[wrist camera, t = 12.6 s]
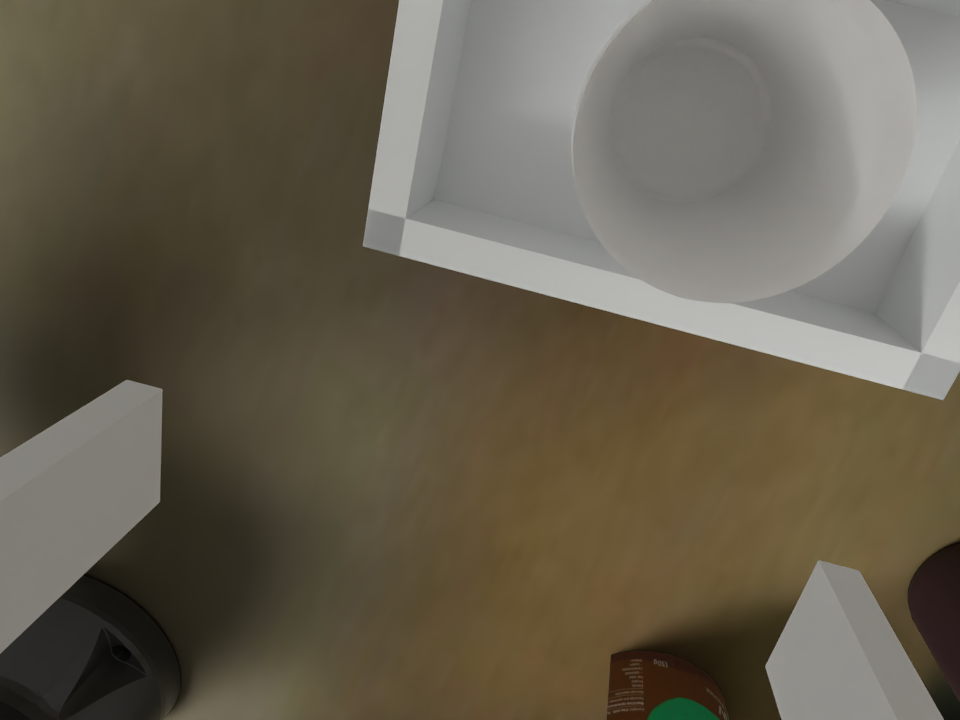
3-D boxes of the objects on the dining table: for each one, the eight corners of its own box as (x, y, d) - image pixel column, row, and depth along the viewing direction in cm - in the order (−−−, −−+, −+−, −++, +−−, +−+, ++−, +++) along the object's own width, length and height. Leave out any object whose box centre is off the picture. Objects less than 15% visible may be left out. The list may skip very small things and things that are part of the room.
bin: (402, 220, 34) (362, 246, 28) (463, -136, 28) (427, -191, 22) (886, 346, 32) (943, 400, 26) (1063, -6, 26) (1185, -30, 20)
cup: (539, 115, 30) (499, 133, 19) (714, -49, 27) (789, -141, 16) (665, 268, 31) (695, 367, 20) (845, 132, 28) (997, 163, 17)
